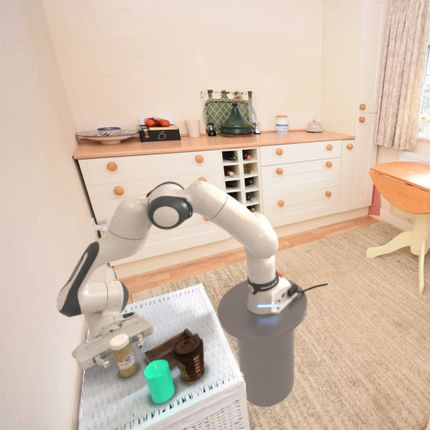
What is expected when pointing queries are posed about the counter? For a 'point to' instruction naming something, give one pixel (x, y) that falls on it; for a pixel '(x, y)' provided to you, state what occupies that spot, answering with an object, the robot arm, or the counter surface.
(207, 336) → the counter surface
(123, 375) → the sprinkles bottle
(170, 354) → the spice rack
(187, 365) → the coffee cup
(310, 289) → the robot arm
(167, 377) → the candle
